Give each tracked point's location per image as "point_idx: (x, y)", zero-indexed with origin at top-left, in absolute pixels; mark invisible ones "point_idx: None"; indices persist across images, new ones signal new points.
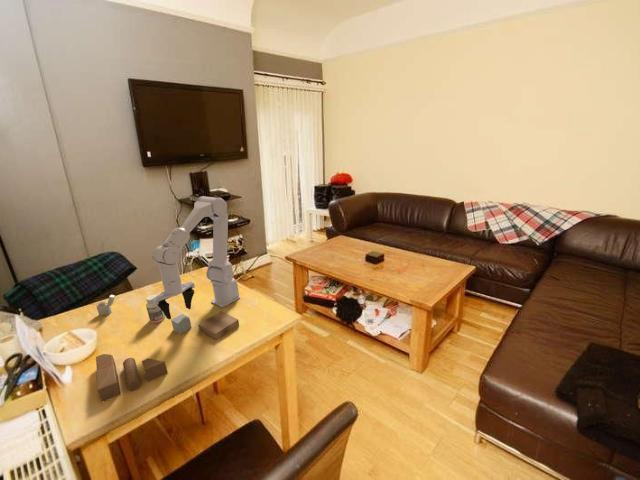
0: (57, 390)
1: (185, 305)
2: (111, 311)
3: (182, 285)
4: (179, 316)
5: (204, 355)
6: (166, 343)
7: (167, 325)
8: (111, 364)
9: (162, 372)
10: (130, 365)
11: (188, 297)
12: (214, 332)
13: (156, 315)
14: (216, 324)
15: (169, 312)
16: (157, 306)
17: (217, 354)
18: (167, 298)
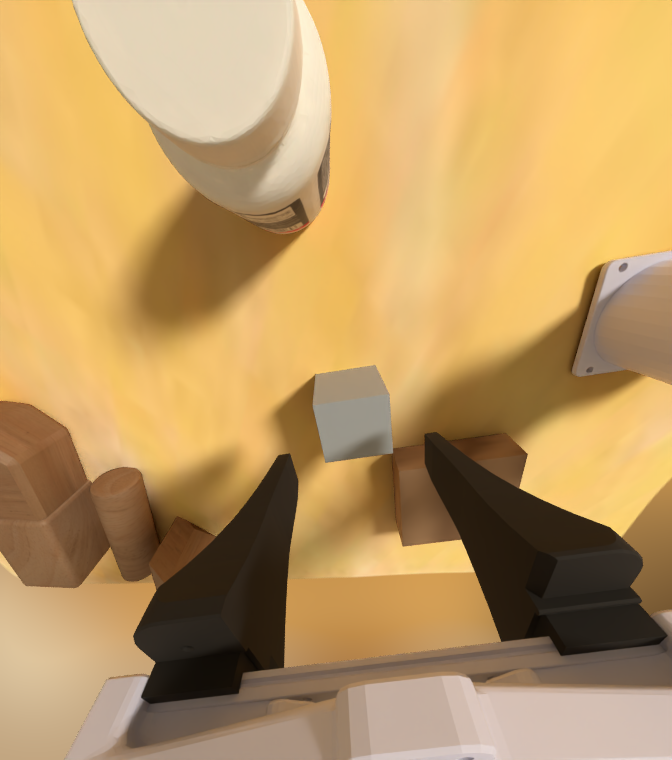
0: None
1: (431, 442)
2: None
3: (646, 725)
4: (362, 408)
5: (336, 548)
6: (262, 440)
7: (306, 312)
8: (33, 519)
9: None
10: (116, 532)
11: (480, 580)
12: (406, 540)
13: (258, 224)
14: (442, 513)
15: (288, 538)
16: (264, 213)
17: (362, 561)
18: (289, 685)
